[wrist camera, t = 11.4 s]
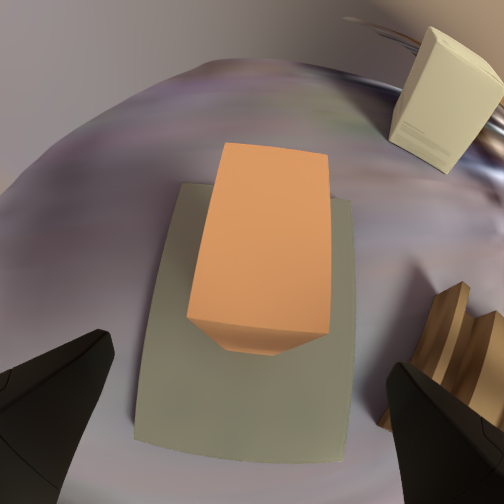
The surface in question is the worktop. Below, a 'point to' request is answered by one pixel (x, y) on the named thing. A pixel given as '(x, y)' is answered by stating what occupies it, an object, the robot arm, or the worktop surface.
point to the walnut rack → (462, 354)
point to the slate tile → (244, 363)
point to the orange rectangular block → (265, 251)
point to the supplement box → (444, 101)
